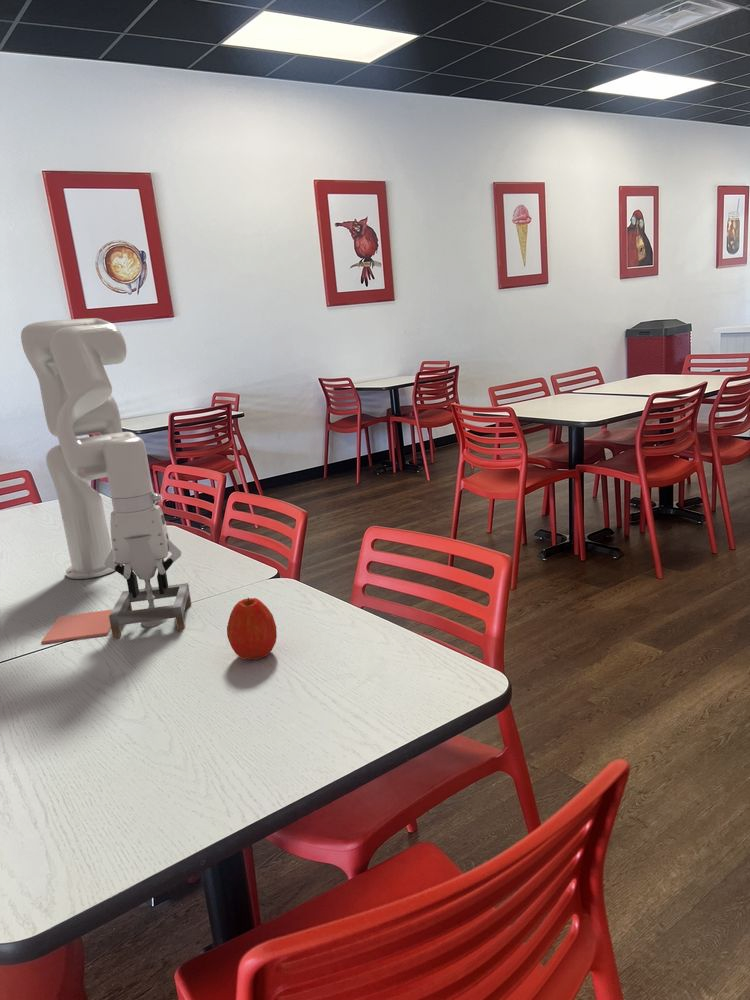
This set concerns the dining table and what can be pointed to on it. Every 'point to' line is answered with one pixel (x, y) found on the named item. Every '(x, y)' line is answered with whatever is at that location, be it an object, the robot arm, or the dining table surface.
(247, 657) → the apple
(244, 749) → the dining table surface
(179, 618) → the ring stand
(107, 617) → the coaster
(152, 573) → the chalice
